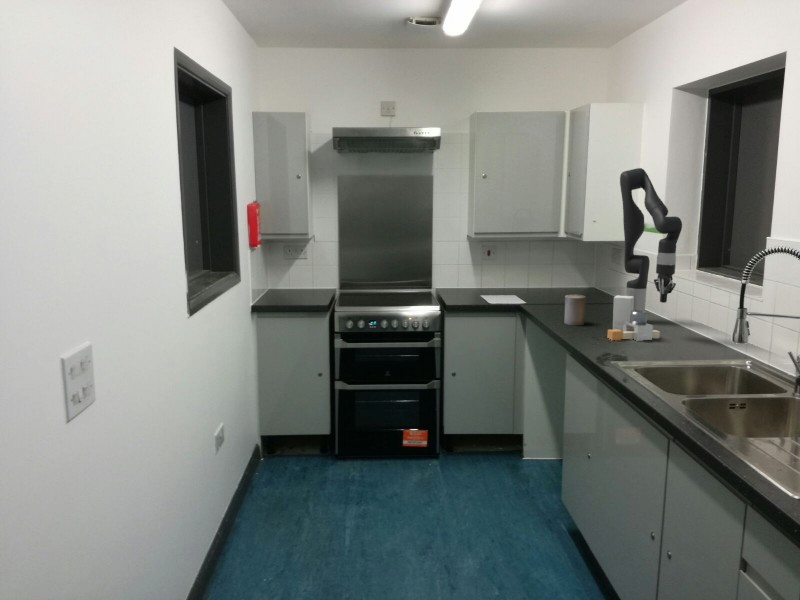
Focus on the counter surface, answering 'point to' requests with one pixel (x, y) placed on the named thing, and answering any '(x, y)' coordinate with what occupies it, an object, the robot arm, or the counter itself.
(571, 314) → the pillar candle
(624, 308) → the skincare box
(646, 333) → the grey box with ball
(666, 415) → the counter surface
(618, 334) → the plug rod
